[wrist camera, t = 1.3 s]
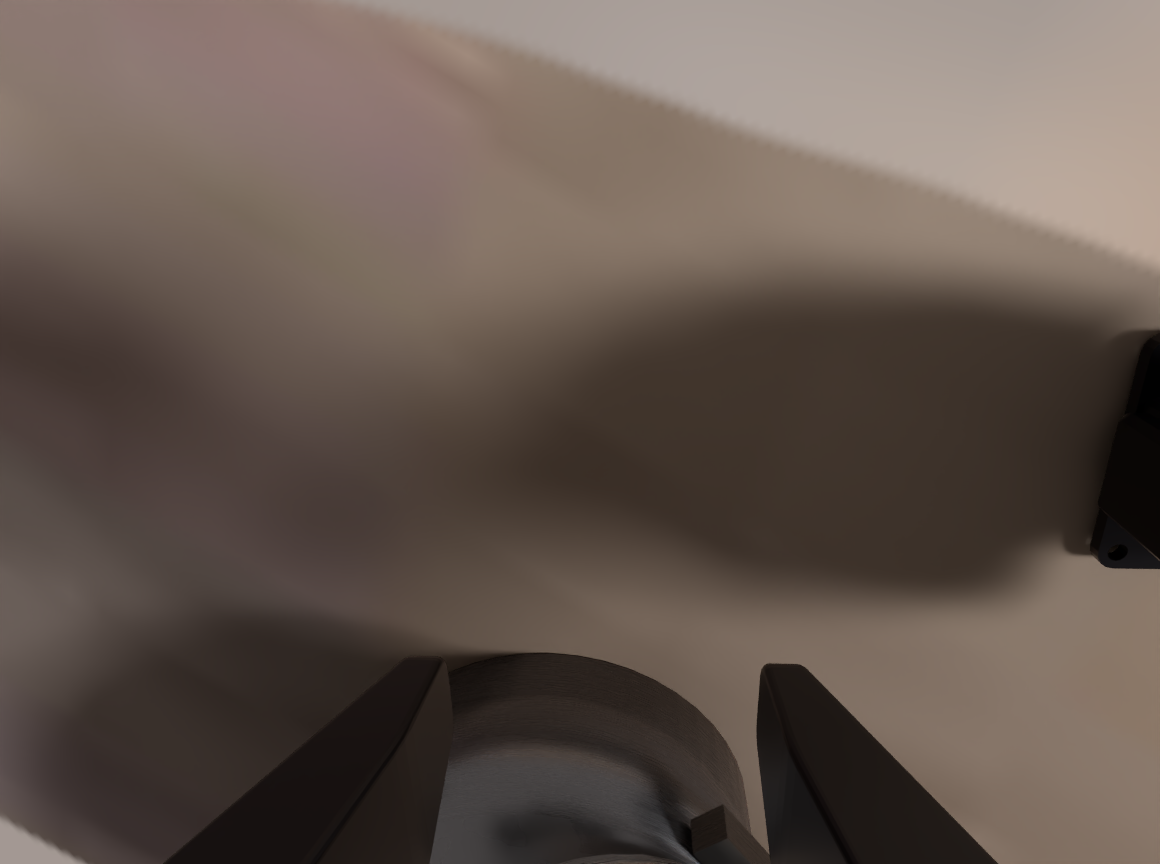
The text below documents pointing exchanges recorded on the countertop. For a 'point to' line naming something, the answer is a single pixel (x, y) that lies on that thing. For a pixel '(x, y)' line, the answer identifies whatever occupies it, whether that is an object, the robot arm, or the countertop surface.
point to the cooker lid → (622, 859)
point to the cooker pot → (585, 769)
